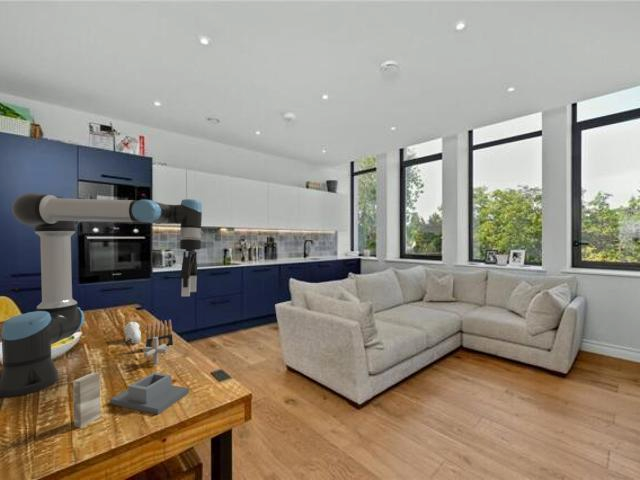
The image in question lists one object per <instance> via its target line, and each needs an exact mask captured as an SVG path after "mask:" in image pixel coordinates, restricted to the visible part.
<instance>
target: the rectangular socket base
mask: <svg viewBox="0 0 640 480" xmlns="http://www.w3.org/2000/svg"><path fill="white" fill-rule="evenodd" d="M172 381H173V380H172V375H171V374H167V373H162V372H161V373H160V372H156V371H155V372H152V373H150V374H148V375H147V376H145V377H143V378H141V379H139V380H137V381H135V382H133V383H131V384H129V385H128V386H127V389H126V390H124V391H122V392H120V393H118V394H116V395H115V396H113V397H111V398H109V404H110V405H114V406H119V407H123V408H128V409H132V410H137V411H141V412H146V413H150V414H155V415H160V414H161V413H163V412H164V411H165V410H167V409H168V408H170V407H171V406H172V405H174V404H176V403H177V402H178V401H180V400H182V399H183V398H184V397H186V396H187V395H188V394H190V389H189V387H183V386H179V385H173V384H172V383H173V382H172Z"/></svg>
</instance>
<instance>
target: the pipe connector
mask: <svg viewBox="0 0 640 480" xmlns="http://www.w3.org/2000/svg"><path fill="white" fill-rule="evenodd" d="M142 351H143V352H144V353H143V357H144V358H145V359H146V358H149V357H150V356H152V364H153V365H155V364H156V365H157V364H159V354H167V353H169V348H167V347H166V344H162V345H160V346H158V337H153V347H146V346H143V348H142Z"/></svg>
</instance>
